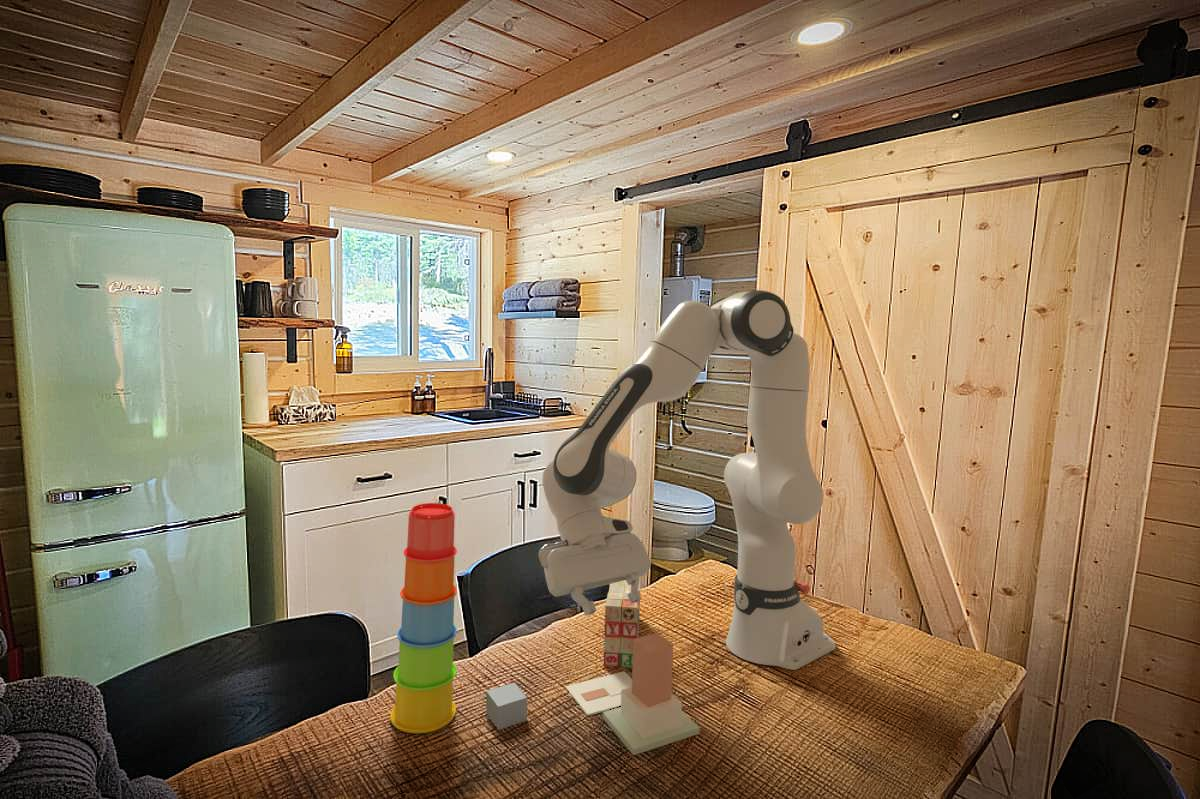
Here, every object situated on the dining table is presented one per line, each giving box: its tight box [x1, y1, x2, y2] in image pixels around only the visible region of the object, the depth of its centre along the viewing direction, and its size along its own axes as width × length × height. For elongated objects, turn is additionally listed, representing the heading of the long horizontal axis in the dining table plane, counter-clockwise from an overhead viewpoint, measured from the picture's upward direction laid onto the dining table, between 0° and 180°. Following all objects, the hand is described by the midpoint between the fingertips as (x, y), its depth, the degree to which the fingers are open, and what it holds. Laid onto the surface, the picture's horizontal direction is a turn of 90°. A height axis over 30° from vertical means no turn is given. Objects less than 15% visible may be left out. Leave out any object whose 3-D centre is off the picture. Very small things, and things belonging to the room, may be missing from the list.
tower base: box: [602, 687, 701, 756], centre depth 98 cm, size 12×10×5 cm
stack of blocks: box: [603, 578, 641, 669], centre depth 125 cm, size 21×6×12 cm, turn 175°
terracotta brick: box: [631, 632, 674, 708], centre depth 97 cm, size 4×4×9 cm
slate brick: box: [485, 682, 528, 731], centre depth 100 cm, size 5×5×4 cm
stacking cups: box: [389, 502, 458, 734], centre depth 98 cm, size 10×10×35 cm
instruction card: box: [565, 670, 632, 717], centre depth 107 cm, size 12×9×1 cm
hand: (614, 607), depth 106 cm, fingers open, 8 cm apart
